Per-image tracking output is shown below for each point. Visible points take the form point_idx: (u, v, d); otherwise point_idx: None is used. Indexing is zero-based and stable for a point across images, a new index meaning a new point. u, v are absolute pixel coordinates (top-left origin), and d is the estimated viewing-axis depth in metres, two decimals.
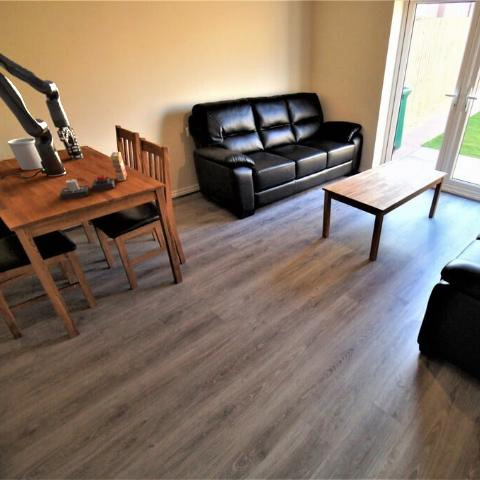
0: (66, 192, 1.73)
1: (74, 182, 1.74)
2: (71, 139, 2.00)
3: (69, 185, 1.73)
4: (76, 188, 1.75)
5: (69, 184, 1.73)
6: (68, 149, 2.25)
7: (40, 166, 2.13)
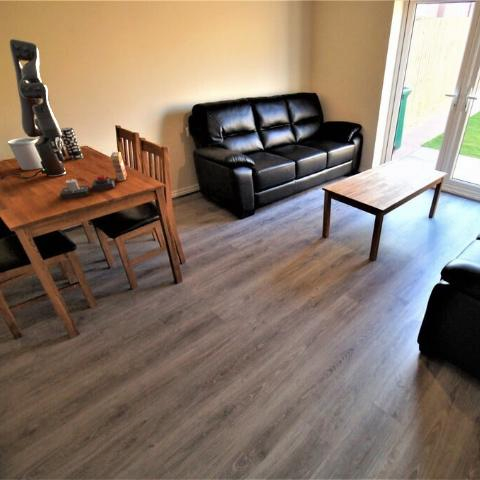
0: (66, 192, 1.73)
1: (74, 182, 1.74)
2: (62, 151, 1.71)
3: (69, 185, 1.73)
4: (76, 188, 1.75)
5: (69, 184, 1.73)
6: (68, 149, 2.25)
7: (40, 166, 2.13)
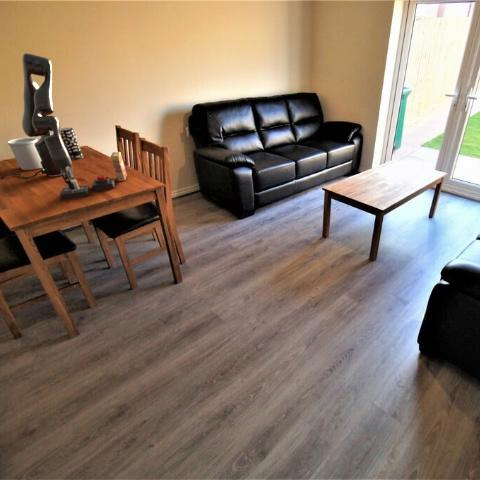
0: (66, 192, 1.73)
1: (74, 182, 1.74)
2: None
3: None
4: (76, 188, 1.75)
5: None
6: (68, 149, 2.25)
7: (40, 166, 2.13)
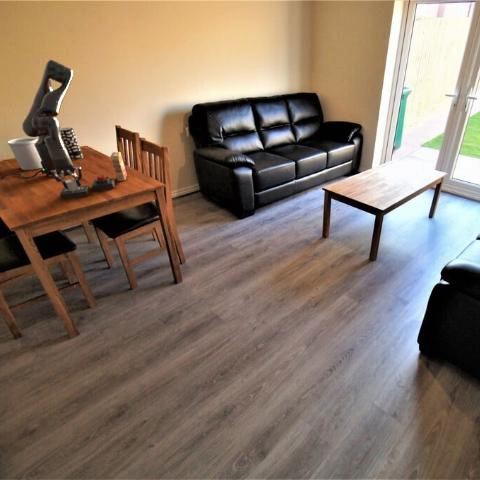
0: (66, 192, 1.73)
1: (66, 183, 1.72)
2: None
3: None
4: (69, 189, 1.74)
5: None
6: (68, 149, 2.25)
7: (40, 166, 2.13)
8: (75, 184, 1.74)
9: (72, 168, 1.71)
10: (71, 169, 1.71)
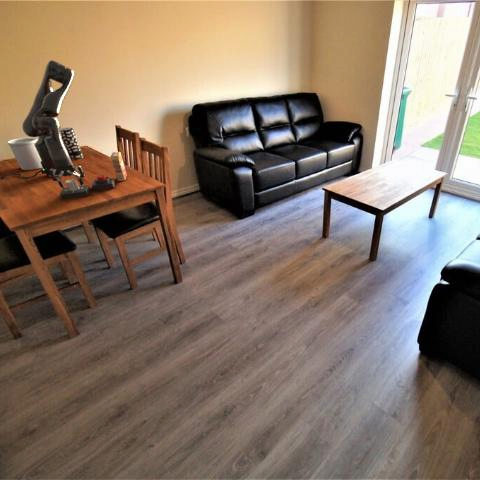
0: (66, 192, 1.73)
1: (66, 183, 1.72)
2: None
3: None
4: (69, 189, 1.74)
5: None
6: (68, 149, 2.25)
7: (40, 166, 2.13)
8: (75, 184, 1.74)
9: (72, 168, 1.71)
10: (70, 169, 1.71)
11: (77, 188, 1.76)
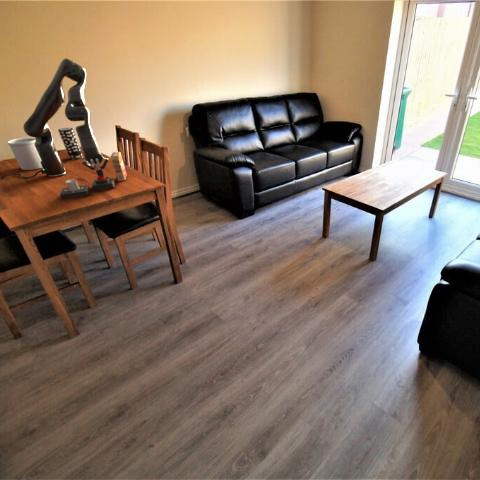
0: (66, 192, 1.73)
1: (66, 183, 1.72)
2: None
3: None
4: (69, 189, 1.74)
5: None
6: (68, 149, 2.25)
7: (40, 166, 2.13)
8: (75, 184, 1.74)
9: (100, 157, 1.79)
10: (100, 159, 1.79)
11: (77, 188, 1.76)
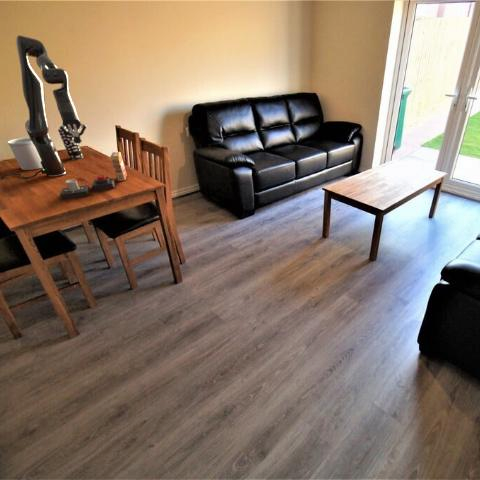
0: (66, 192, 1.73)
1: (66, 183, 1.72)
2: None
3: None
4: (69, 189, 1.74)
5: None
6: (68, 149, 2.25)
7: (40, 166, 2.13)
8: (75, 184, 1.74)
9: (78, 123, 1.77)
10: (78, 125, 1.77)
11: (77, 188, 1.76)
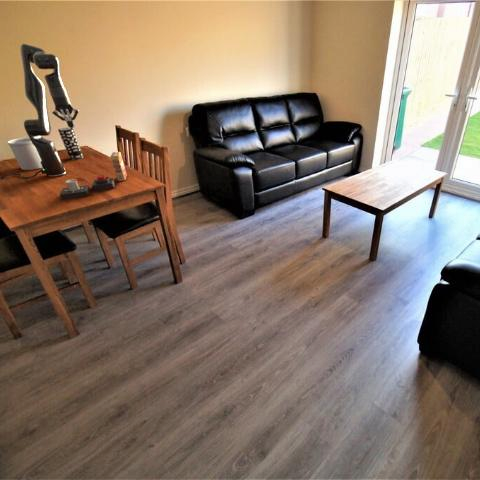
0: (66, 192, 1.73)
1: (66, 183, 1.72)
2: None
3: None
4: (69, 189, 1.74)
5: None
6: (68, 149, 2.25)
7: (40, 166, 2.13)
8: (75, 184, 1.74)
9: (70, 107, 1.83)
10: (70, 109, 1.83)
11: (77, 188, 1.76)
